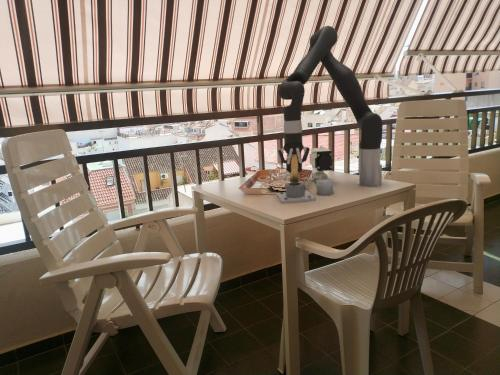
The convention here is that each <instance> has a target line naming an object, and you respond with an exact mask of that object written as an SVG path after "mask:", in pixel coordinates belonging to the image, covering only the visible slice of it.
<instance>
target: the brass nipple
mask: <svg viewBox="0 0 500 375" xmlns="http://www.w3.org/2000/svg"><path fill="white" fill-rule="evenodd" d="M290 171H291V173H289V179H290V182H291V183H297V182H299V179H300V172H299V160H298V155H297V154H292V156H291V159H290Z"/></svg>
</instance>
